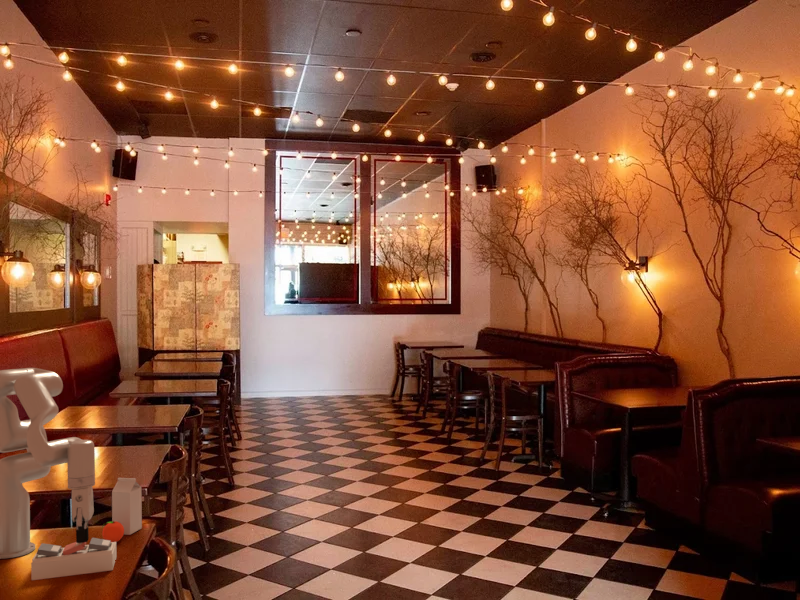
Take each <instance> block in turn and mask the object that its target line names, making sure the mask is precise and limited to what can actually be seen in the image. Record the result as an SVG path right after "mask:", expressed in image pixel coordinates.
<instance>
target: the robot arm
mask: <svg viewBox="0 0 800 600" xmlns="http://www.w3.org/2000/svg"><path fill="white" fill-rule="evenodd" d="M63 383H64V382H63V380H62V378H61V377H60V375H59V374H58V373H56V372H54V371H51V370H47V369H43V368H37V367H26V368H25V367H24V368H12V369H1V370H0V453H10V452H11V453H12V452H15V451H20V450H25V449H26V451H27V452H24V453H18V454H14V455H8V456H6V457H5V456H4V457H3V458H0V559H1V560H2V559H12V558H17V557H22V556H25V555H27V554H30V553H32V552H33V551H35V550H36V544H35V543H34V542H31V510H30V509H31V506H30V505H31V504H30V503H31V502H30V500H31V498H30V497H31V496H30V493H29V492H28V490H27V489H26V488H25V486H24V485H23V484H24V483H27V482H28V483H29V482H31V481H36V480H39V479H42V478H45V477H47V476H48V475H49V473H50V472H51V467H53V466H54V467H55V466H57V465H61V464H67V488H68V489H69V490H71V517H72V518H71V520H72V522H73V523H75V522H76V523H75V524H76V526H75V527H76V529H75V535H76V536H75V537H76V538H75V540H76V541H75V542H77V543H82V542H86V543H88V541H89V521H90V520H91V519H92V517H93V515H94V512H95V508H94V506H95V505H94V491H93V490H94V489H93V487H94V486H95V485H96V467H95V466H96V465H95V464H96V462H95V461H96V460H95V457H96V456H95V443H94V441H93V440H92V439H91V440H90V439H81V438H80V437H76V436H72V437H66V438H60V439H54V440H50V441H48V437H47V433H46V429H45V427H44V425H46V424H48V423H50V422H51V421H52V420H53V419H55V418H56V417H57V416H58V414H59V412H60V411H59V406H58V405H57V403H56V401H55V400H54V398H53V397H56V396H58V395H60V394H61V393H62V392H63V389H64V384H63ZM12 395H13V396H14V395H16V396H17V398H18V399H19V402H20V404H21V406H22V407H23V409H24V410H25V412H26V415H27V416H28V418H29V419H24V420H21V419H20V417H19V410H18V407H17V406H16V404H15V403H14V402H13V401H12V399H10V398H9V397H7V396H12Z"/></svg>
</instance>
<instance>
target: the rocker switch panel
mask: <svg viewBox="0 0 800 600" xmlns="http://www.w3.org/2000/svg"><path fill="white" fill-rule="evenodd" d="M88 547H89V544H86V545H85V547H84V549H82V550H79V551H76V552H74V553H71V554H69V555H64V554H63V550H64V548H65V547H61V550H60V552H59V554H58V556H46V555H39V554H37V552H36V553H35V555H34V556H33V557H32V561H31V563H30V565H31V567H30V569H31V577H30V578H31V581H36V580H37V581H38V580H43V579H44V580H45V579H52V578H60V577H61V578H62V577H68V576H69V577H70V576H77V575H83V574H93V573H101V572H107V571H113V570H114V566H115V564H116V561H117V542H110V546H109V548H108V550H97V549H90V548H88ZM115 560H116V561H115Z"/></svg>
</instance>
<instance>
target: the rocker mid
mask: <svg viewBox="0 0 800 600" xmlns="http://www.w3.org/2000/svg"><path fill="white" fill-rule="evenodd" d="M85 545H87V542H82V543H77V542H76V541H75V542H72V543H69V544H67V545H65V547H63V548H64V550H63V554H64V555H69V554H71V553H74V552H76V551H79V550H82V549H84V547H85Z"/></svg>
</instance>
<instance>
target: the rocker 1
mask: <svg viewBox="0 0 800 600" xmlns="http://www.w3.org/2000/svg"><path fill="white" fill-rule="evenodd" d="M61 548H62V545H56V544H50V543H43V542H42V543H41V544H40V546H39V547H38V549H37V550H36V553H37V554H39V555H46V556H58V554H59V552H60V550H61Z"/></svg>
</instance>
